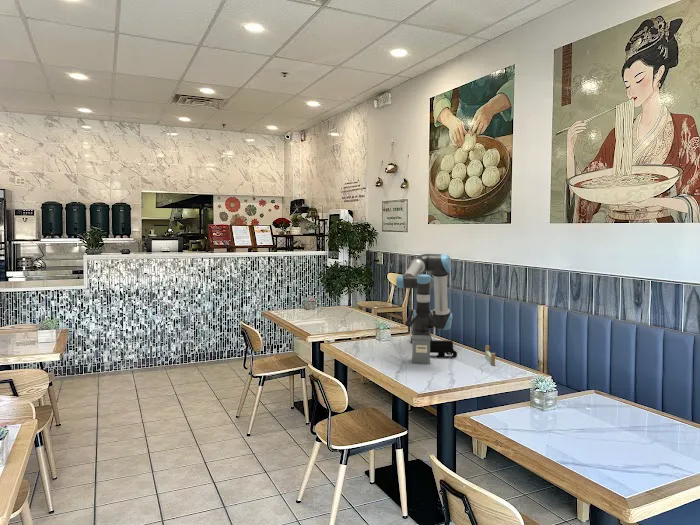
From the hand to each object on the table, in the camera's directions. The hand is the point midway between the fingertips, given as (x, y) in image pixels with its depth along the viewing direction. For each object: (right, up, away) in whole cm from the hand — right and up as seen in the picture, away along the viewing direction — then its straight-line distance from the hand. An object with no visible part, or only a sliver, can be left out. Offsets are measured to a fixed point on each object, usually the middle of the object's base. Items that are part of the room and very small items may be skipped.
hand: (422, 338), depth 302 cm
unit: (+1, -16, +12) cm, 20 cm away
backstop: (+43, -16, +16) cm, 49 cm away
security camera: (+16, -15, +24) cm, 32 cm away
